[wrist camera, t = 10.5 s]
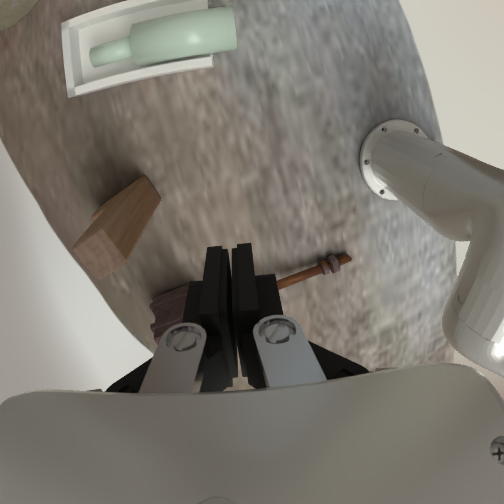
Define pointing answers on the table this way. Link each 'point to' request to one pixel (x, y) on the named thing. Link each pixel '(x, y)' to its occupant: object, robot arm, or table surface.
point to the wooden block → (117, 228)
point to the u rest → (115, 27)
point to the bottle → (171, 38)
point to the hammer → (173, 303)
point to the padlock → (14, 11)
